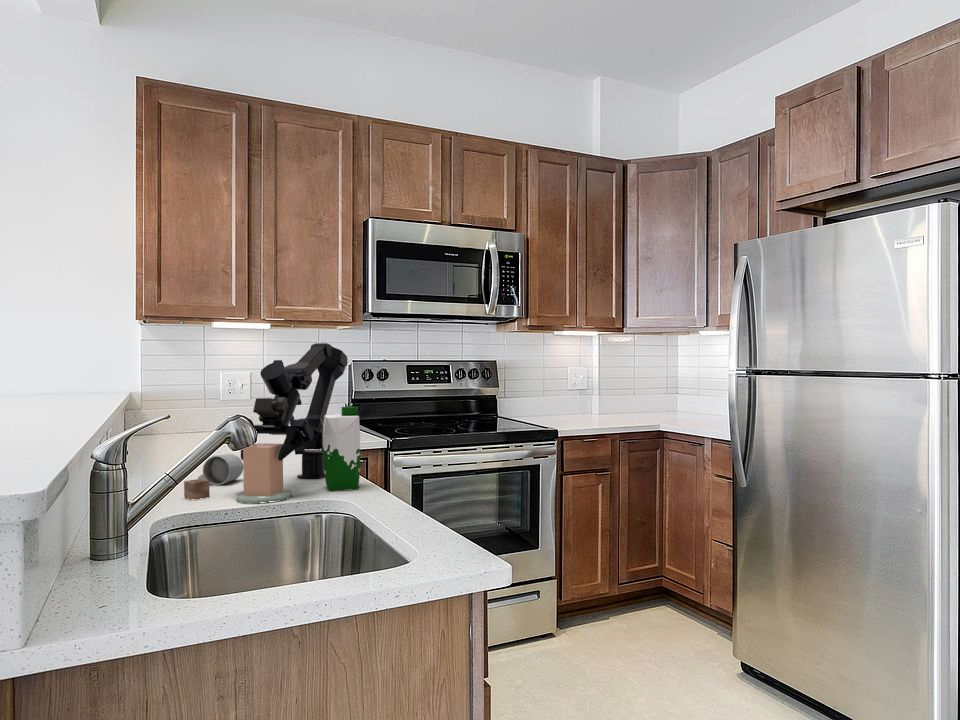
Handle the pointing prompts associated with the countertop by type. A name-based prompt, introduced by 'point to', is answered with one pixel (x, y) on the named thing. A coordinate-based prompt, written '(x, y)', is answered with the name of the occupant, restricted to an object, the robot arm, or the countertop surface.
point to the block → (196, 489)
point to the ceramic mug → (222, 469)
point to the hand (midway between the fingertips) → (260, 459)
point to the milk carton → (342, 449)
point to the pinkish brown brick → (262, 470)
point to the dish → (263, 497)
